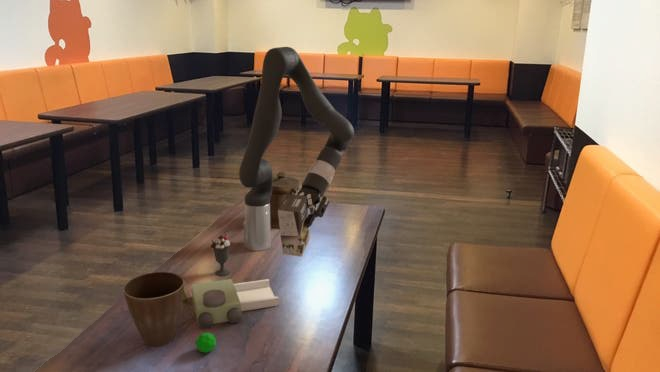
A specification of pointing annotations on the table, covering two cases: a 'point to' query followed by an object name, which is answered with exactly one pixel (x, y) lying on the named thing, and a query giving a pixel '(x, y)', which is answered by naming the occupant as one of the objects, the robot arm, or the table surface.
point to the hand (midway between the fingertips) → (295, 223)
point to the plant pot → (155, 305)
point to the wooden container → (280, 195)
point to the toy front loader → (229, 300)
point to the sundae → (221, 253)
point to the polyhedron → (205, 342)
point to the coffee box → (293, 225)
